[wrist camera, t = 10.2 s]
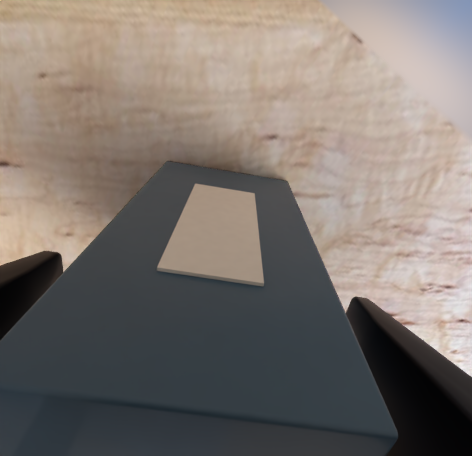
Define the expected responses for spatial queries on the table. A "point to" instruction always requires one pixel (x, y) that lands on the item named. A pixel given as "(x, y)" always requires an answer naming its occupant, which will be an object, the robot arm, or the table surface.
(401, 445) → the robot arm
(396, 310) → the table surface
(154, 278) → the tissue box
